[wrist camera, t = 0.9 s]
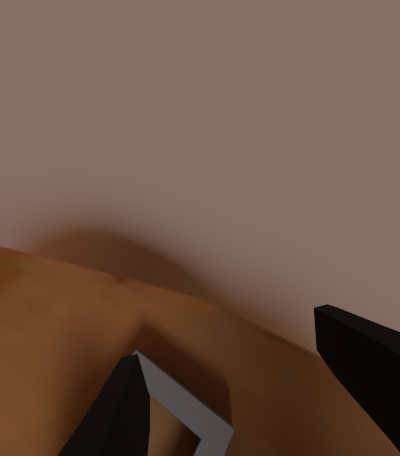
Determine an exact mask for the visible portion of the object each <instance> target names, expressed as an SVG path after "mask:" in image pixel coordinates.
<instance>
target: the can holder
mask: <svg viewBox="0 0 400 456" xmlns="http://www.w3.org/2000/svg"><path fill="white" fill-rule="evenodd" d="M135 354H138V357H139V361H140V364H141V368H142V371H143V375H144V378H145V382H146V385H147V388H148V392H149V394H150V395H151V396H153V397H154V398H155V399H156V400H157V401H158V402H159V403H161V404H162V405H163V406H164V407H165V408H166V409H167V410H169V411H170V412H171V413H172V414H173V415H174V416H176V417H177V418H178V419H179V420H180V421H181V422H182V423H184V424H185V425H186V426H187V427H188V428H189V429H190V430H192V431H193V432H194V433H195V434H196V435H197V436H198V437H200V439H199V441H198V443H197V445H196V447H195V449H194V451H193V453H192V455H191V456H224V454H225V452H226V449H227V447H228V445H229V442H230V440H231V438H232V436H233V433H234V431H235V429H234V427H233V425H232V424H231V423H230V422H229V421H227V420H226V419H225V418H224V417H222V416H221V415H220V414H219V413H218V412H216V411H215V410H214V409H213V408H211V407H210V406H209V405H208V404H206V403H205V402H204V401H203V400H201V399H200V398H199V397H198V396H196V395H195V394H194V393H193V392H192V391H190V390H189V389H188V388H187V387H185V386H184V385H183V384H182V383H180V382H179V381H178V380H177V379H175V378H174V377H173V376H172V375H170V374H169V373H168V372H167V371H165V370H164V369H163V368H162V367H161V366H159V365H158V364H157V363H156V362H154V361H153V360H152V359H151V358H149V357H148V356H147V355H146V354H144V353H143V352H141V351H138V350H135V351H134V353H133V354H132V355H135Z"/></svg>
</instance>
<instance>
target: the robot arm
mask: <svg viewBox="0 0 400 456" xmlns="http://www.w3.org/2000/svg"><path fill="white" fill-rule="evenodd" d="M314 317H315V330H316V331H315V332H316V346H317V351H318V352H319V354H320V355H321V357H322V358H323V360H324V361H325V363H326V364H327V366H328V367H329V368H330V370H331V371H332V373H333V374H334V375H335V377H336V378H337V379H338V380H339V381H340V383H341V384H342V385H343V386H344V387H345V388H346V390H347V391H348V392H349V393H350V394H351V395H352V397H353V398H354V399H355V400H356V401H357V402H358V403H359V405H360V406H361V407H362V408H363V409H364V410H365V411H366V413H367V414H368V415H369V416H370V417H371V418H372V420H373V421H374V422H375V423H376V424H377V425H378V426H379V428H380V429H381V430H382V431H383V432H384V433H385V434H386V436H387V437H388V438H389V439H390V440H391V442H392V443H393V444H394V445H395V446H396V448H397V449H398V450H399V451H400V332H398V331H395V330H393V329H390V328H388V327H385V326H382V325H380V324H377V323H375V322H372V321H370V320H367V319H365V318H362V317H360V316H357V315H355V314H352V313H349V312H347V311H344V310H342V309H339V308H337V307H334V306H331V305H328V304H327V305H323V306H319V307H316V308H314ZM149 432H150V395H149V392H148V388H147V385H146V382H145V378H144V375H143V371H142V368H141V364H140V361H139V357H138V354H135V355H131V356H127V357H123V358H121V359H120V361H119V362H118V364H117V365H116V367H115V369H114V370H113V372H112V374H111V375H110V377H109V378H108V380H107V382H106V383H105V385H104V387H103V388H102V390H101V392H100V393H99V395H98V396H97V398H96V399H95V401H94V403H93V404H92V406H91V407H90V409H89V410H88V412H87V414H86V415H85V417H84V418H83V420H82V421H81V423H80V424H79V426H78V427H77V428H76V430H75V431H74V433H73V434H72V436H71V437H70V439H69V440H68V441H67V443H66V444H65V446H64V447H63V449H62V450H61V452H60V453H59V454H58V456H147V453H148V443H149Z"/></svg>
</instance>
